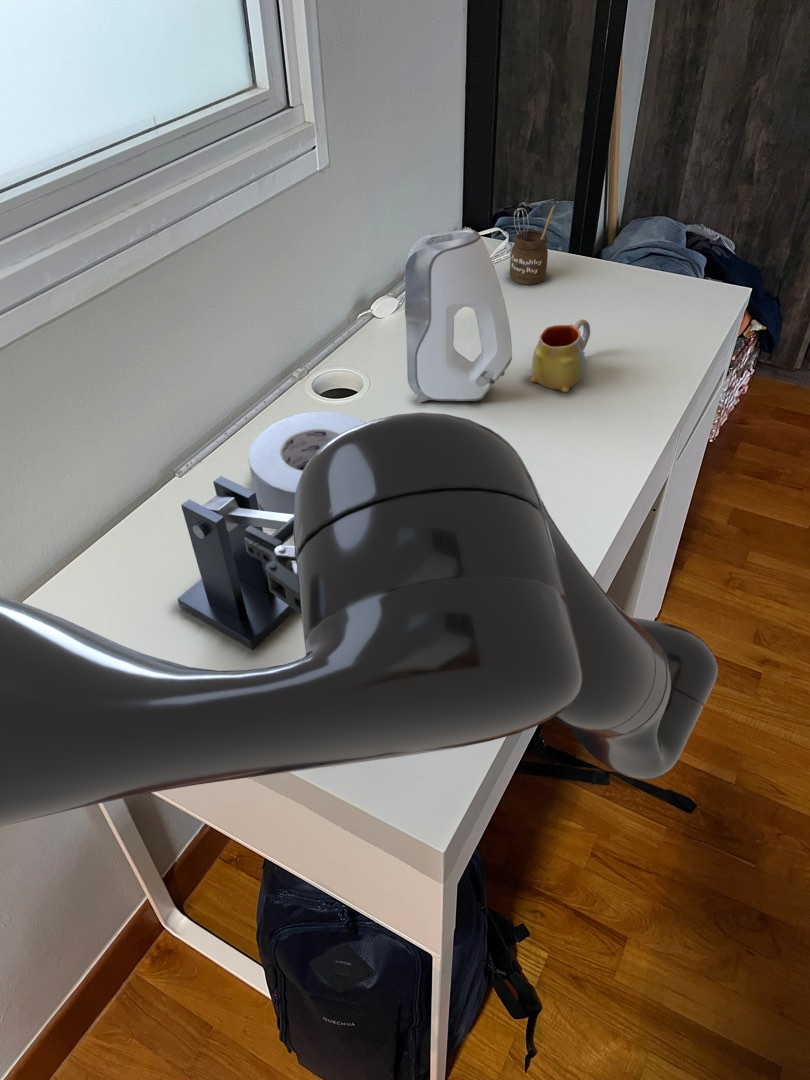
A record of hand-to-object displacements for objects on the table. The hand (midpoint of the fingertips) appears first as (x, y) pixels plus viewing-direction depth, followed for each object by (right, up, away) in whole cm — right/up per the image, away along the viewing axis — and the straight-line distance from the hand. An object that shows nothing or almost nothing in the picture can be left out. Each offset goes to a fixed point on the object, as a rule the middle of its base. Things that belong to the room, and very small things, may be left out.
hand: (274, 513), depth 69 cm
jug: (+17, +17, +41) cm, 48 cm away
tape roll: (+1, +4, +27) cm, 28 cm away
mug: (+33, +21, +44) cm, 59 cm away
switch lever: (-2, -1, +3) cm, 4 cm away
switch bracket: (-5, -9, +14) cm, 17 cm away
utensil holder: (+31, +41, +66) cm, 83 cm away
